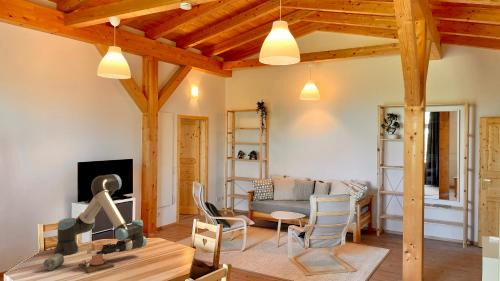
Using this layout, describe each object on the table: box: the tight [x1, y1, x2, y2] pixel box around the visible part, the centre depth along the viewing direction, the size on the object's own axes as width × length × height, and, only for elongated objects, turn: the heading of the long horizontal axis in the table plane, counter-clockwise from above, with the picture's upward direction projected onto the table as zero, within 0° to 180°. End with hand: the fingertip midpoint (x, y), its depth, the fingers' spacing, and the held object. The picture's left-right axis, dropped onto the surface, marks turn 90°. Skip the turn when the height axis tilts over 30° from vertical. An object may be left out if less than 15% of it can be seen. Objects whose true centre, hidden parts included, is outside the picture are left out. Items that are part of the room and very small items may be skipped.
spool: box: [43, 253, 65, 271], centre depth 228 cm, size 14×10×10 cm
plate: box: [78, 259, 115, 274], centre depth 231 cm, size 16×16×2 cm
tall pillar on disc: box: [88, 241, 106, 265], centre depth 232 cm, size 9×9×12 cm
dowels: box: [81, 260, 90, 269], centre depth 227 cm, size 8×2×3 cm, turn 45°
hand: (88, 252), depth 228 cm, fingers open, 5 cm apart
